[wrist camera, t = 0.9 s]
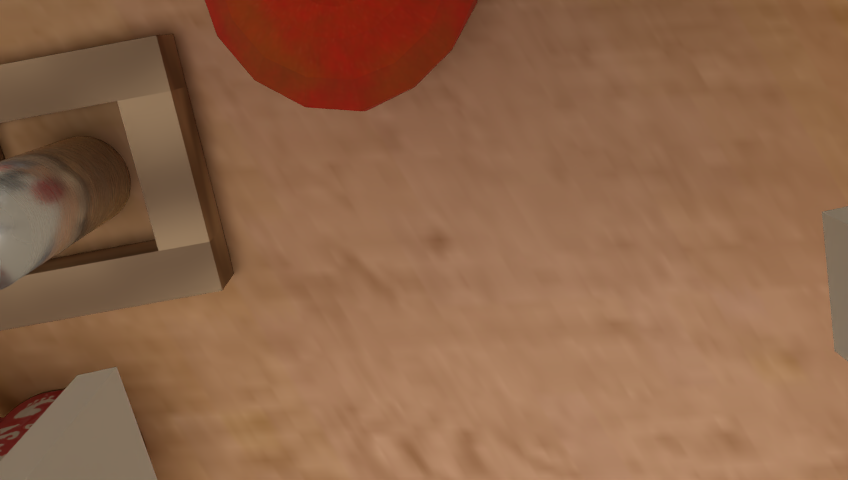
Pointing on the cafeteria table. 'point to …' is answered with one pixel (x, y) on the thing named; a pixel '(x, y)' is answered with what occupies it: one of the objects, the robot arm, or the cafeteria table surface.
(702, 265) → the cafeteria table surface
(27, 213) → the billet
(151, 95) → the board
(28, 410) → the mug
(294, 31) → the apple
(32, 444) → the robot arm
